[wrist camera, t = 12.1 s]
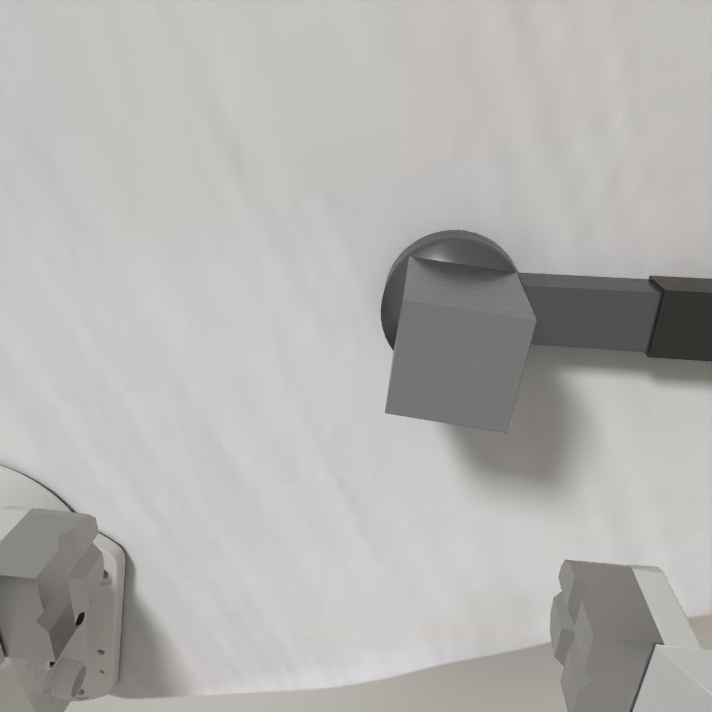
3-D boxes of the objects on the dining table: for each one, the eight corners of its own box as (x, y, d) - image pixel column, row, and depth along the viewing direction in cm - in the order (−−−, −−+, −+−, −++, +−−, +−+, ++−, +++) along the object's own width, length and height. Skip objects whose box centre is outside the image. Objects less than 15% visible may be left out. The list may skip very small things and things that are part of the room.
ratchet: (747, 378, 31) (808, 437, 26) (382, 353, 33) (372, 405, 28) (791, 245, 28) (870, 283, 23) (387, 226, 30) (378, 258, 25)
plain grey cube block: (493, 368, 30) (506, 432, 25) (393, 352, 30) (385, 413, 25) (516, 272, 28) (536, 320, 23) (409, 256, 28) (403, 299, 23)
